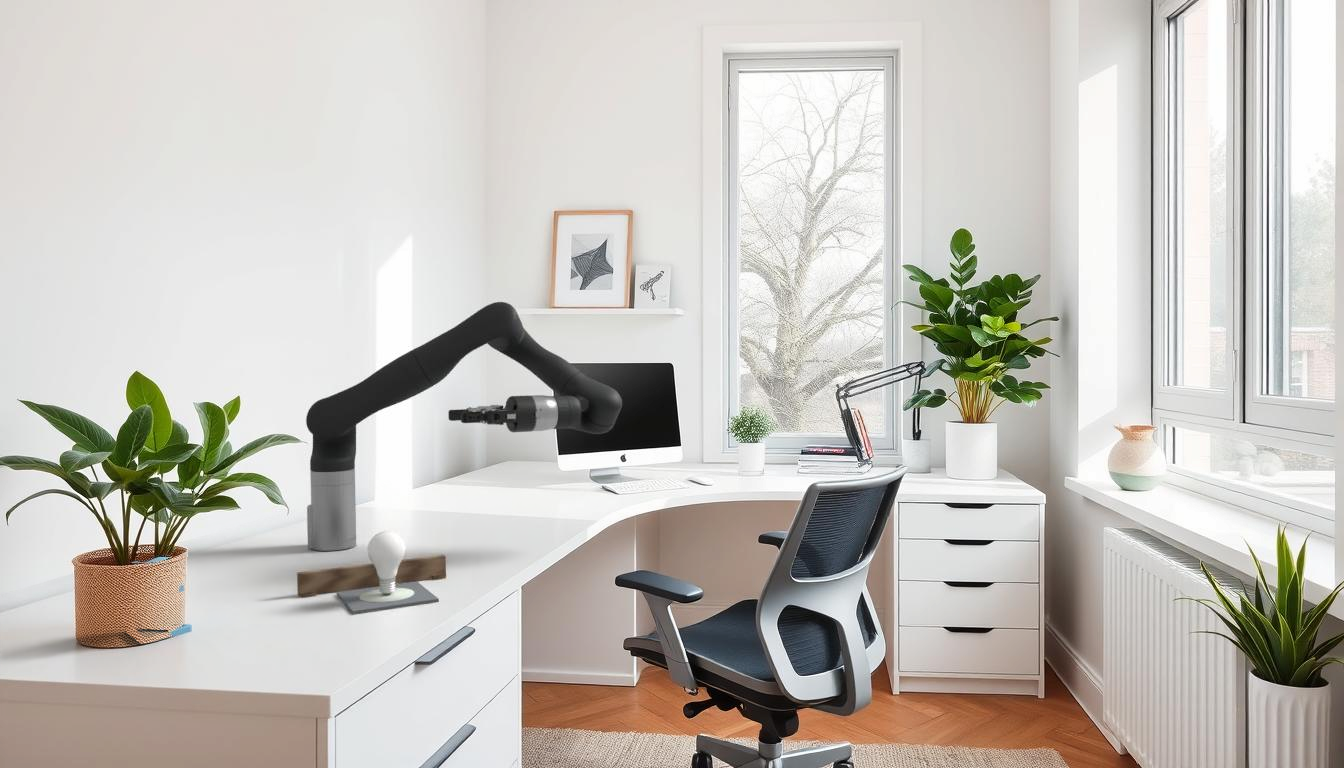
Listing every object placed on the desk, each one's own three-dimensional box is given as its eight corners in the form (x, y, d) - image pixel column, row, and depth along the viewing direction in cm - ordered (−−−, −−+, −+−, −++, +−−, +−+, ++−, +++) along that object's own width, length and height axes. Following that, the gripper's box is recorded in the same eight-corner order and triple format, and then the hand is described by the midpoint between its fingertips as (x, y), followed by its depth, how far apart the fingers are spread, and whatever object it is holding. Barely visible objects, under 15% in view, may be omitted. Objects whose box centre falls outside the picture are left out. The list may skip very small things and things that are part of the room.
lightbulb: (400, 599, 151) (398, 534, 151) (362, 599, 151) (361, 535, 151) (411, 589, 157) (410, 527, 157) (375, 589, 157) (374, 527, 157)
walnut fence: (299, 598, 155) (299, 575, 155) (296, 594, 157) (296, 571, 157) (447, 578, 168) (446, 557, 168) (442, 574, 171) (442, 554, 170)
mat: (353, 614, 144) (353, 610, 144) (337, 595, 156) (337, 591, 156) (438, 601, 152) (438, 597, 152) (417, 584, 164) (417, 580, 164)
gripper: (519, 394, 192) (444, 396, 183) (544, 396, 179) (465, 398, 171) (519, 429, 192) (445, 432, 184) (544, 433, 179) (466, 437, 171)
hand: (455, 416), depth 177 cm, fingers open, 8 cm apart
